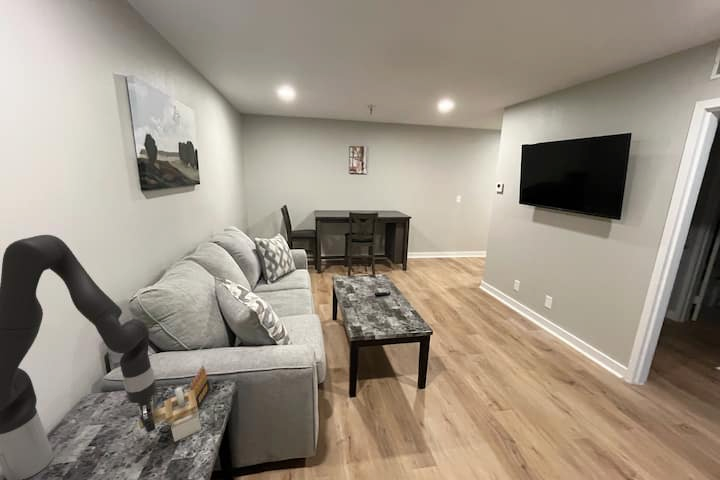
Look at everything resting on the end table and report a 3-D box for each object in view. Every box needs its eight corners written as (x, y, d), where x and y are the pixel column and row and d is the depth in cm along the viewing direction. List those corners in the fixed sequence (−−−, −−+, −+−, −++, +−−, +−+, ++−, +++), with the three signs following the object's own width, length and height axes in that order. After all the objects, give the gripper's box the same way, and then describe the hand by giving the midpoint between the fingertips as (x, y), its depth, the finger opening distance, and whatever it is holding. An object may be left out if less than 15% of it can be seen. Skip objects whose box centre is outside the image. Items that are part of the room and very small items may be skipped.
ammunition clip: (198, 410, 112) (192, 383, 109) (193, 410, 112) (187, 383, 109) (210, 388, 122) (205, 363, 119) (206, 388, 122) (201, 363, 119)
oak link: (140, 436, 93) (139, 430, 92) (140, 416, 100) (139, 410, 99) (198, 411, 101) (197, 405, 101) (194, 395, 109) (193, 389, 108)
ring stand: (174, 441, 99) (164, 402, 95) (172, 425, 106) (163, 387, 101) (201, 429, 104) (193, 391, 100) (197, 413, 110) (190, 377, 106)
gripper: (126, 374, 97) (137, 417, 101) (124, 402, 86) (136, 449, 90) (153, 365, 101) (163, 407, 106) (155, 390, 90) (166, 436, 94)
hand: (151, 426), depth 98 cm, fingers closed on oak link, 3 cm apart
